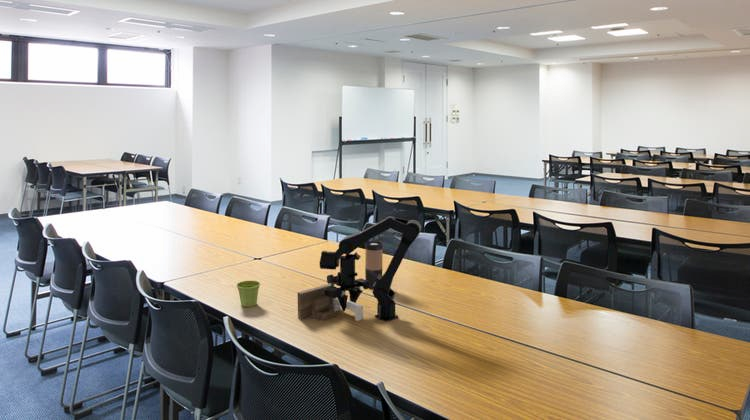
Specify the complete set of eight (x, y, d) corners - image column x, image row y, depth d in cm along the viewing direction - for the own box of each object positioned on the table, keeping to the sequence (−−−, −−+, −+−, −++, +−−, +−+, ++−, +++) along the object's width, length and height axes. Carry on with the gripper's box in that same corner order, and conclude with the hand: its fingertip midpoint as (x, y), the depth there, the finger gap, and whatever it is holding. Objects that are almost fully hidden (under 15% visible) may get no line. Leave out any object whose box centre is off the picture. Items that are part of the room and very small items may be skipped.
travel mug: (385, 285, 234) (385, 242, 230) (376, 290, 227) (376, 245, 224) (371, 283, 238) (371, 240, 234) (361, 287, 231) (362, 243, 228)
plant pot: (264, 306, 207) (264, 285, 206) (241, 310, 202) (240, 289, 200) (255, 299, 215) (255, 279, 213) (233, 303, 209) (232, 282, 208)
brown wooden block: (345, 313, 200) (345, 288, 198) (311, 324, 189) (311, 298, 187) (331, 307, 206) (330, 283, 204) (297, 317, 195) (297, 292, 193)
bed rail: (362, 318, 194) (363, 305, 194) (357, 320, 192) (357, 307, 192) (338, 308, 204) (338, 296, 204) (333, 310, 202) (332, 298, 202)
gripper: (352, 261, 208) (352, 298, 210) (314, 270, 195) (315, 309, 197) (371, 267, 200) (370, 305, 202) (333, 276, 187) (333, 317, 190)
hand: (347, 309), depth 198 cm, fingers open, 4 cm apart
